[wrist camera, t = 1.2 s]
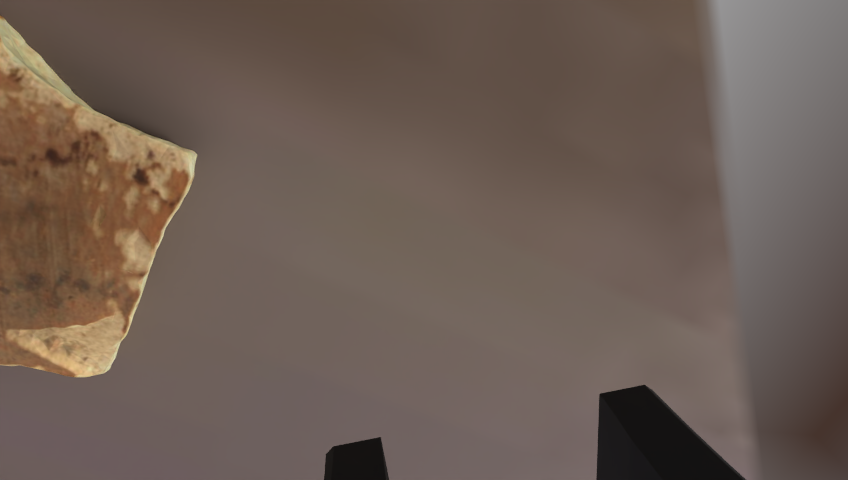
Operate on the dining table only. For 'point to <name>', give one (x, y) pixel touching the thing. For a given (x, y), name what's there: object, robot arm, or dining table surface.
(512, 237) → the dining table surface
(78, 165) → the shard
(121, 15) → the dining table surface
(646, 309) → the dining table surface
